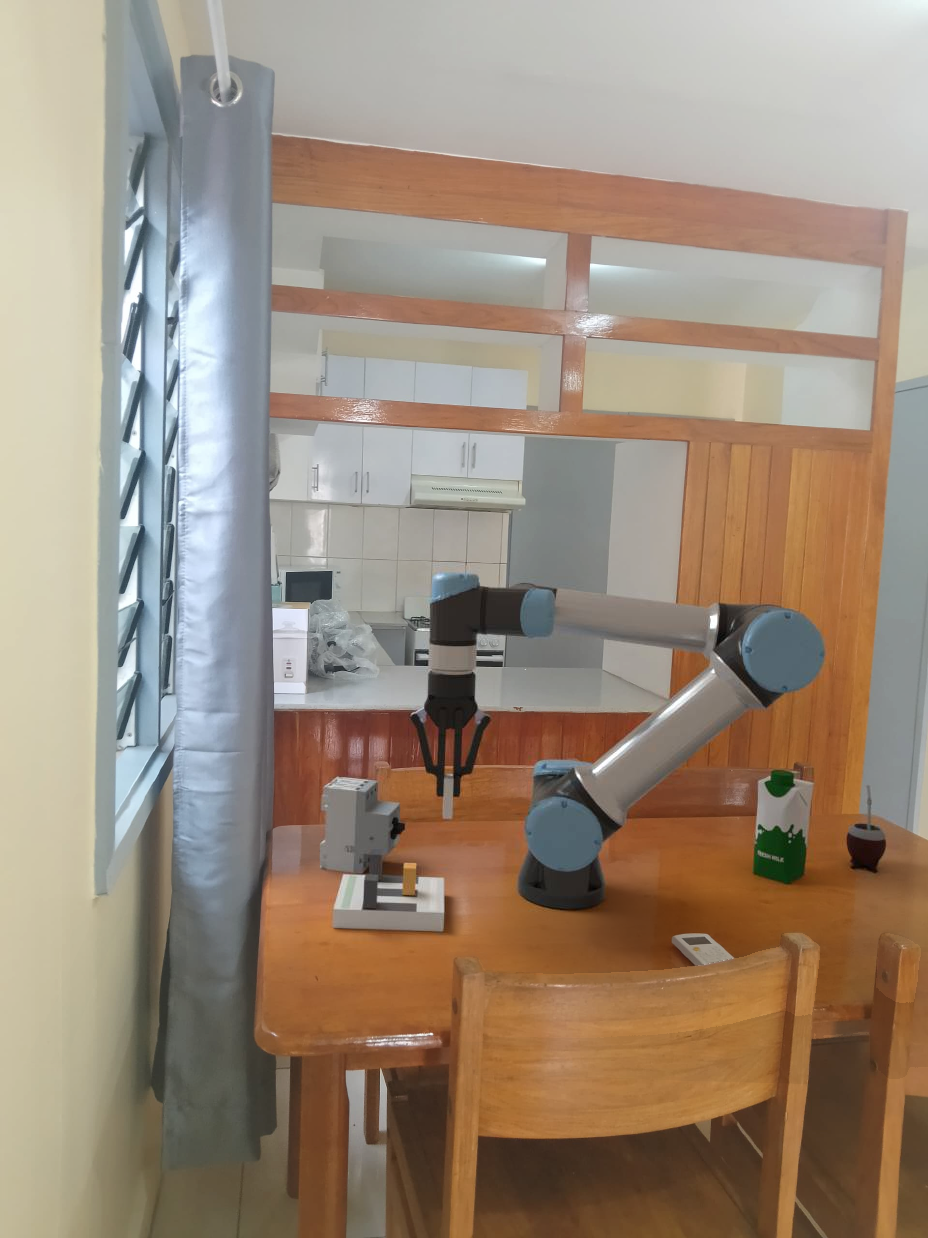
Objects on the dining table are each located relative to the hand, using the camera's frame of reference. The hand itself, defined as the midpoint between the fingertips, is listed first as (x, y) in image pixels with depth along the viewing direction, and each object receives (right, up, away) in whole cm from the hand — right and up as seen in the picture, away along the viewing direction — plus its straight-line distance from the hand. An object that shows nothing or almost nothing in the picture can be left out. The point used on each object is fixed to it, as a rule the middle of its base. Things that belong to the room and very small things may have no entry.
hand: (447, 816), depth 143 cm
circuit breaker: (-16, -14, +20) cm, 29 cm away
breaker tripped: (-6, -13, +1) cm, 14 cm away
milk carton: (+62, -17, +25) cm, 69 cm away
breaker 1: (-12, -12, +6) cm, 18 cm away
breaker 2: (-12, -13, -5) cm, 18 cm away
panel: (-9, -16, +1) cm, 18 cm away
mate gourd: (+81, -17, +32) cm, 89 cm away
